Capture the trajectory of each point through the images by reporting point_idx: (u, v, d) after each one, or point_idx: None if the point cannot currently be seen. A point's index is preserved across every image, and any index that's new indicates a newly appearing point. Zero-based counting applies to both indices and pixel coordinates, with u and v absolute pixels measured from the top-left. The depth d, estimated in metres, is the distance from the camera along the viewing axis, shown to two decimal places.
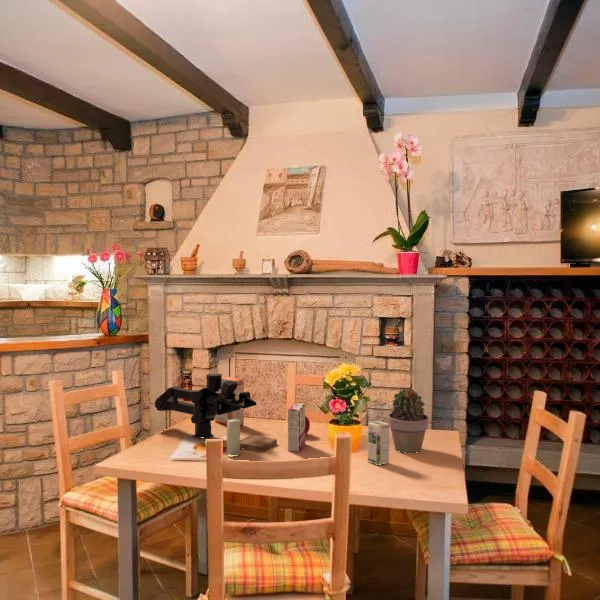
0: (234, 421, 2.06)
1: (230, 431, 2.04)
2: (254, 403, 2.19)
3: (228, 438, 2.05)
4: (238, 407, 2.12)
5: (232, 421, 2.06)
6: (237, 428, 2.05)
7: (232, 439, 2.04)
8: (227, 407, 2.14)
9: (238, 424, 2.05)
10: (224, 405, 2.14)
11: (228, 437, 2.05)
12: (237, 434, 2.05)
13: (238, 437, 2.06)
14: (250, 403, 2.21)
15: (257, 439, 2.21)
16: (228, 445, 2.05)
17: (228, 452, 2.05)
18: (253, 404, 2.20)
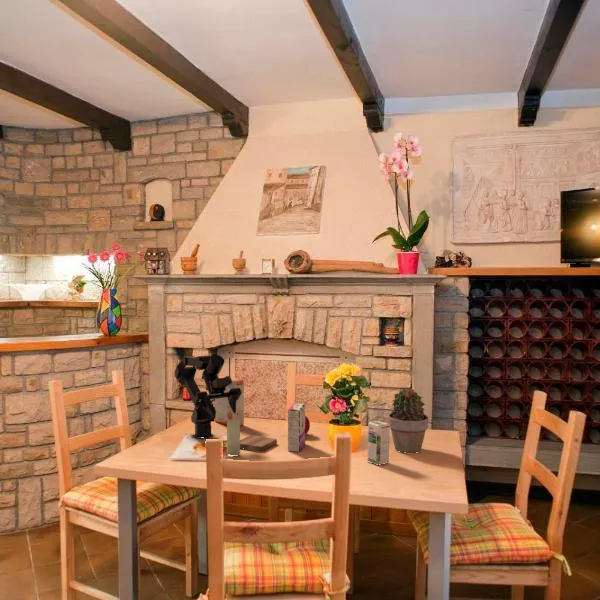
0: (234, 421, 2.06)
1: (230, 431, 2.04)
2: (234, 411, 2.16)
3: (228, 438, 2.05)
4: (212, 414, 2.11)
5: (232, 421, 2.06)
6: (237, 428, 2.05)
7: (232, 439, 2.04)
8: (206, 404, 2.14)
9: (238, 424, 2.05)
10: (204, 401, 2.13)
11: (228, 437, 2.05)
12: (237, 434, 2.05)
13: (238, 437, 2.06)
14: (232, 406, 2.18)
15: (257, 439, 2.21)
16: (228, 445, 2.05)
17: (228, 452, 2.05)
18: (233, 411, 2.17)
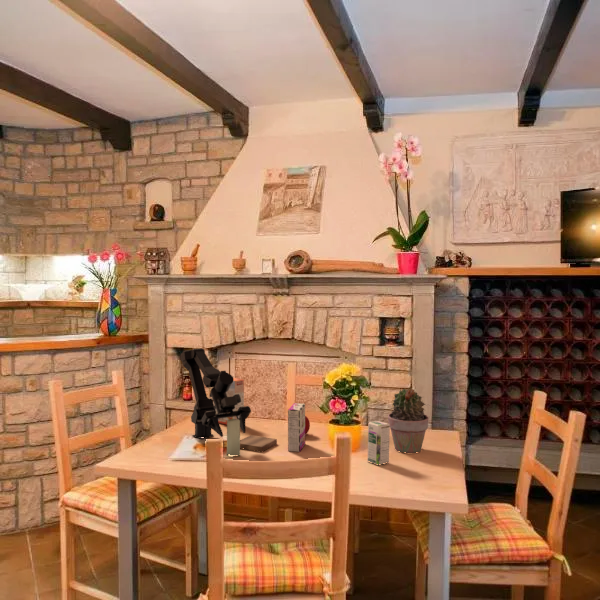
0: (234, 421, 2.06)
1: (230, 431, 2.04)
2: (243, 431, 2.10)
3: (228, 438, 2.05)
4: (221, 434, 2.04)
5: (232, 421, 2.06)
6: (237, 428, 2.05)
7: (232, 439, 2.04)
8: (214, 424, 2.07)
9: (238, 424, 2.05)
10: (212, 421, 2.07)
11: (228, 437, 2.05)
12: (237, 434, 2.05)
13: (238, 437, 2.06)
14: (241, 425, 2.11)
15: (257, 439, 2.21)
16: (228, 445, 2.05)
17: (228, 452, 2.05)
18: (242, 430, 2.10)
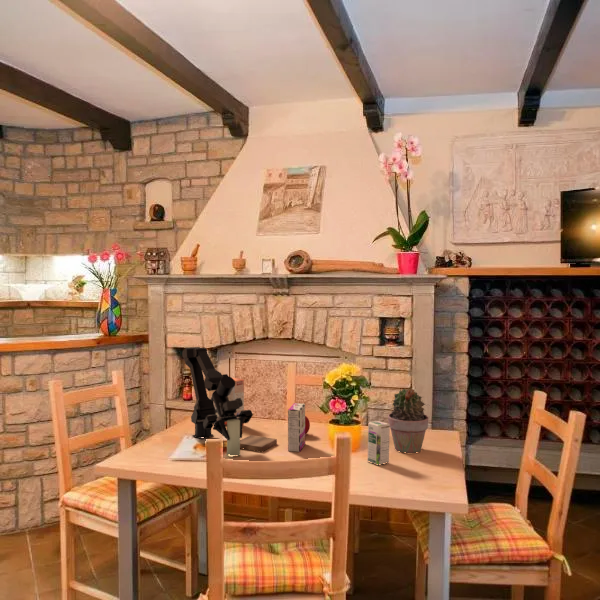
0: (234, 421, 2.06)
1: (230, 431, 2.04)
2: (240, 435, 2.07)
3: None
4: (227, 438, 2.04)
5: (232, 421, 2.06)
6: (237, 428, 2.05)
7: (232, 439, 2.04)
8: (221, 427, 2.07)
9: (238, 424, 2.05)
10: (219, 424, 2.07)
11: None
12: (237, 434, 2.05)
13: (238, 437, 2.06)
14: None
15: (257, 439, 2.21)
16: (228, 445, 2.05)
17: (228, 452, 2.05)
18: None
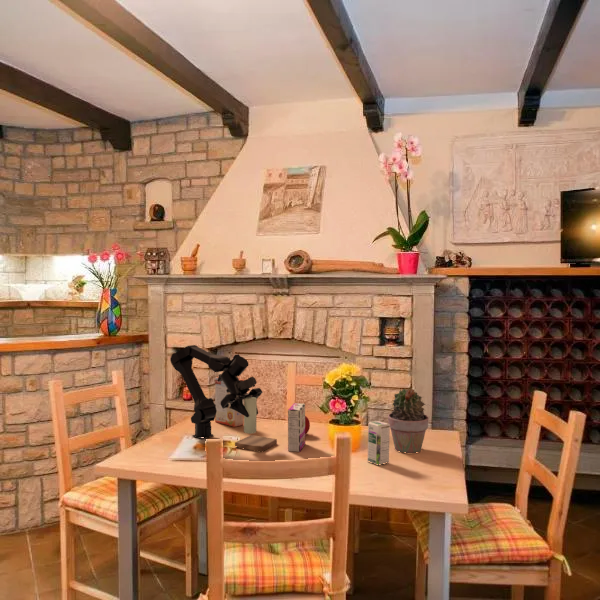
0: (252, 398, 2.13)
1: (249, 408, 2.11)
2: None
3: None
4: (247, 415, 2.11)
5: (250, 399, 2.13)
6: (255, 405, 2.13)
7: (251, 416, 2.12)
8: (238, 405, 2.13)
9: (256, 401, 2.13)
10: (236, 403, 2.12)
11: None
12: (255, 411, 2.13)
13: (256, 414, 2.13)
14: None
15: (257, 439, 2.21)
16: (247, 422, 2.12)
17: (247, 429, 2.12)
18: None
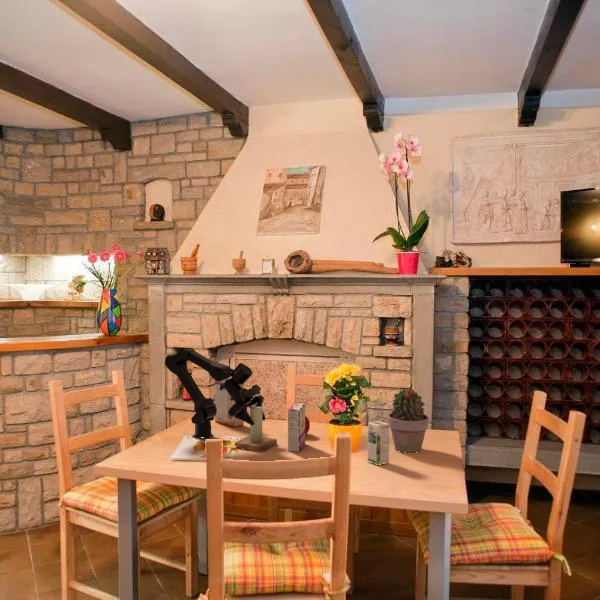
0: (258, 408, 2.18)
1: (256, 417, 2.16)
2: (263, 418, 2.22)
3: (254, 425, 2.16)
4: (252, 423, 2.14)
5: (256, 408, 2.18)
6: None
7: (258, 425, 2.17)
8: (242, 414, 2.15)
9: None
10: (241, 412, 2.14)
11: (254, 424, 2.16)
12: (261, 420, 2.18)
13: None
14: None
15: None
16: (254, 431, 2.16)
17: (254, 438, 2.17)
18: (262, 418, 2.22)
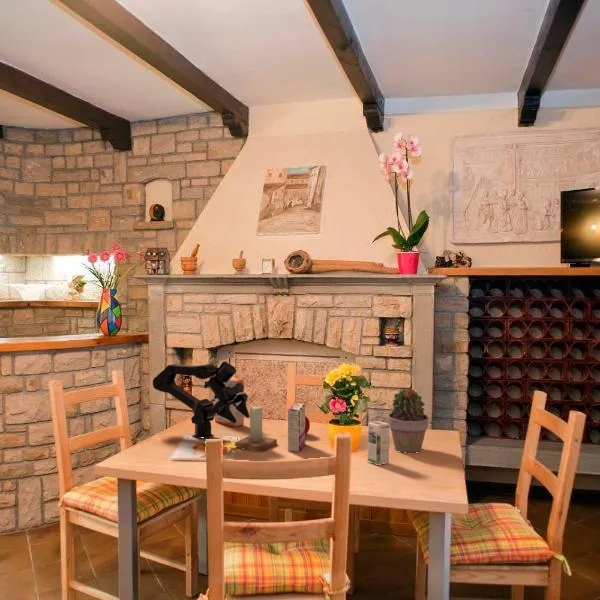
0: (258, 408, 2.18)
1: (256, 418, 2.16)
2: (247, 415, 2.26)
3: (254, 425, 2.16)
4: (234, 421, 2.17)
5: (256, 408, 2.17)
6: (261, 414, 2.18)
7: (258, 425, 2.16)
8: (225, 412, 2.18)
9: None
10: (224, 409, 2.18)
11: (254, 424, 2.16)
12: (261, 420, 2.18)
13: None
14: (243, 411, 2.27)
15: None
16: (254, 431, 2.16)
17: (254, 438, 2.17)
18: (246, 415, 2.26)
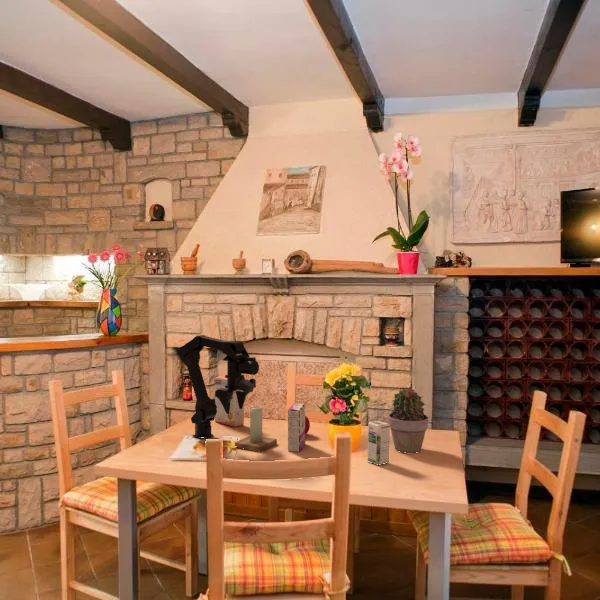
0: (258, 408, 2.18)
1: (256, 418, 2.16)
2: (240, 407, 2.25)
3: (254, 425, 2.16)
4: (227, 412, 2.17)
5: (256, 408, 2.17)
6: (261, 414, 2.18)
7: (258, 425, 2.17)
8: (225, 399, 2.16)
9: None
10: None
11: (254, 424, 2.16)
12: (261, 420, 2.18)
13: None
14: (240, 400, 2.26)
15: None
16: (254, 431, 2.16)
17: (254, 438, 2.17)
18: (239, 405, 2.25)
